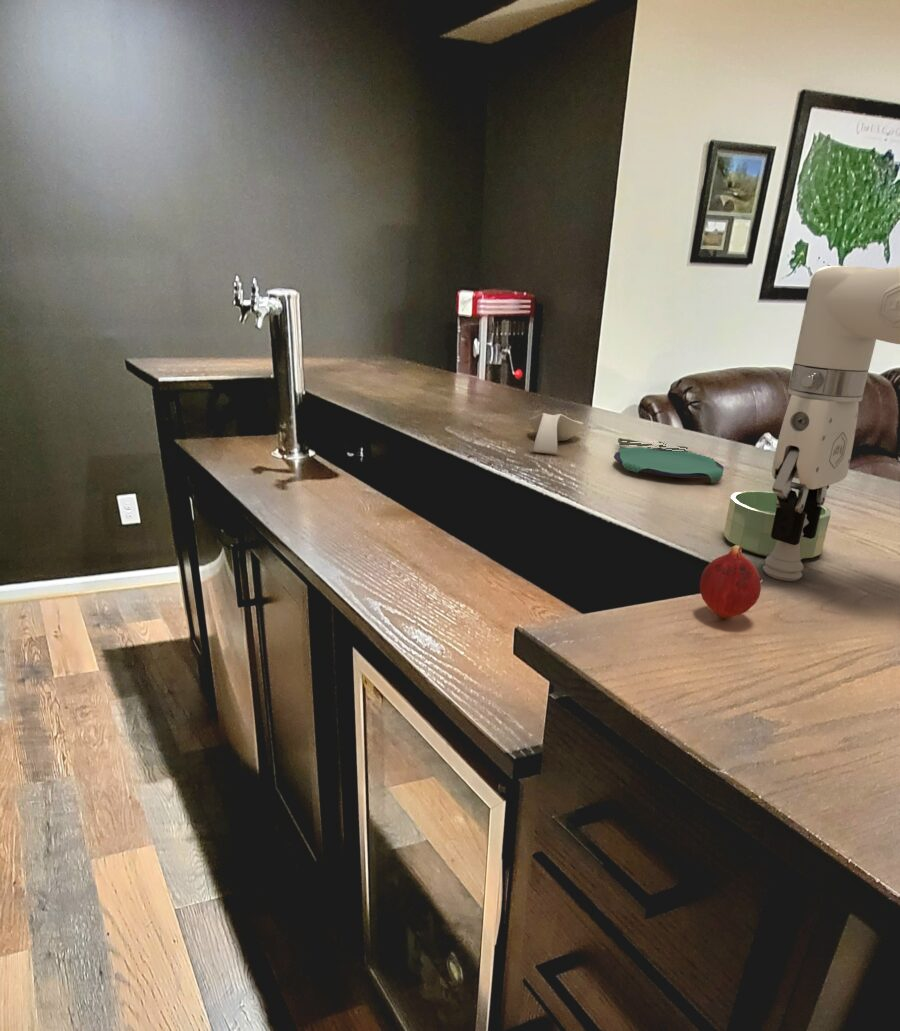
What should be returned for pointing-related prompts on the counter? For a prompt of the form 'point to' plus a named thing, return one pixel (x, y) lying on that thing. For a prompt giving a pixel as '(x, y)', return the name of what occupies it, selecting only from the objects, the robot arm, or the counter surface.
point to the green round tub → (765, 524)
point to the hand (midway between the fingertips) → (792, 536)
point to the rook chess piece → (785, 560)
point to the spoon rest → (552, 431)
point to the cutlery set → (667, 461)
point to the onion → (730, 584)
